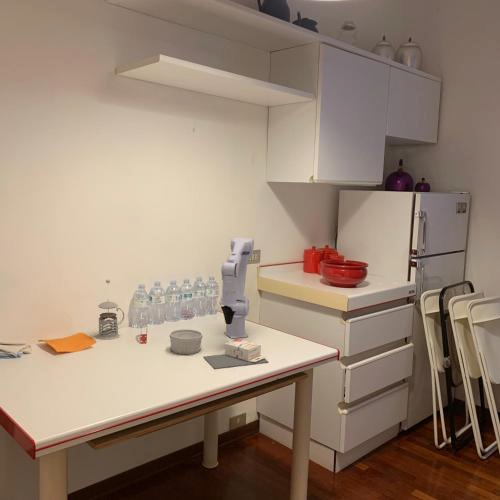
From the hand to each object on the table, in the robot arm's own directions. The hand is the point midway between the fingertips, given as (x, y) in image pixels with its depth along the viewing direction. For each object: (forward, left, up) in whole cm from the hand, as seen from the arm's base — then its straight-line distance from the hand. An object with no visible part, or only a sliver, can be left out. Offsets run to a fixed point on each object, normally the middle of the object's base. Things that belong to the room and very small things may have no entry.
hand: (228, 323), depth 208 cm
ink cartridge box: (+6, -1, -8) cm, 10 cm away
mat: (+14, -2, -10) cm, 18 cm away
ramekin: (-3, -17, -11) cm, 20 cm away
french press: (-30, -43, -11) cm, 53 cm away
